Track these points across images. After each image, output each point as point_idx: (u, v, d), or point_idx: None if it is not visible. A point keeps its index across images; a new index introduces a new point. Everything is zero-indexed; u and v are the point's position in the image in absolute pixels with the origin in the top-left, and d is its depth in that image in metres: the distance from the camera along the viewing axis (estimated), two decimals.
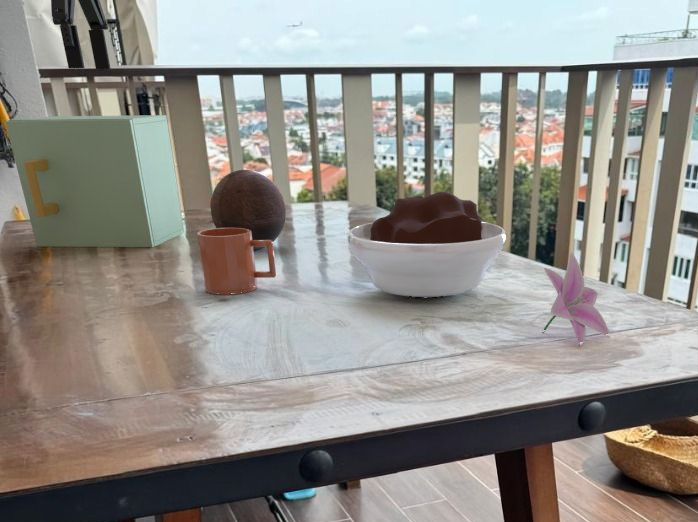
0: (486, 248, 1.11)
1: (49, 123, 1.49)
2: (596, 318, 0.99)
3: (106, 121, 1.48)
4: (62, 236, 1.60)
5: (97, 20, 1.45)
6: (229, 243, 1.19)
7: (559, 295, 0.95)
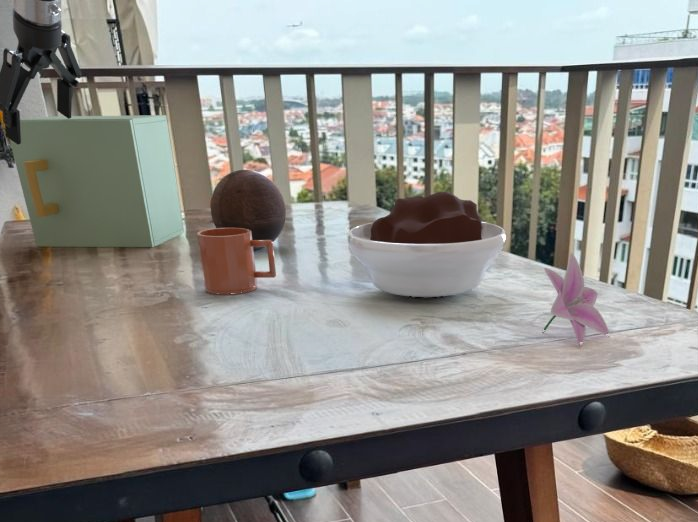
0: (486, 248, 1.11)
1: (49, 123, 1.49)
2: (596, 319, 0.99)
3: (106, 121, 1.48)
4: (62, 236, 1.60)
5: (66, 79, 1.41)
6: (229, 243, 1.19)
7: (559, 295, 0.95)
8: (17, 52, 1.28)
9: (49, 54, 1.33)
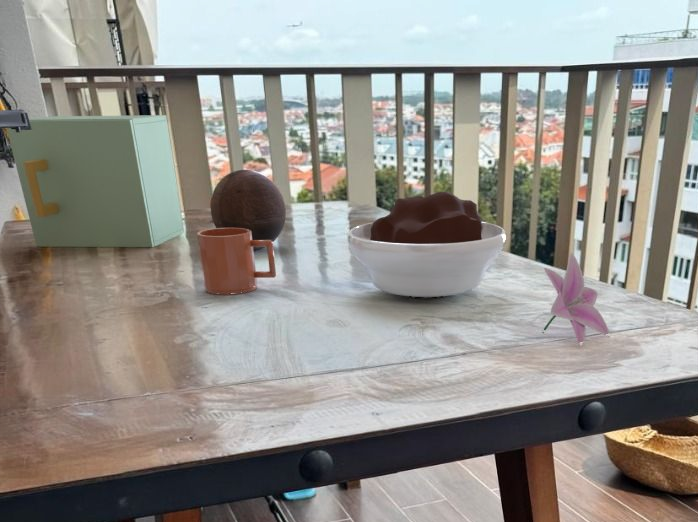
0: (486, 248, 1.11)
1: (49, 123, 1.49)
2: (596, 319, 0.99)
3: (106, 121, 1.48)
4: (62, 236, 1.60)
5: None
6: (229, 243, 1.19)
7: (559, 295, 0.95)
8: None
9: None
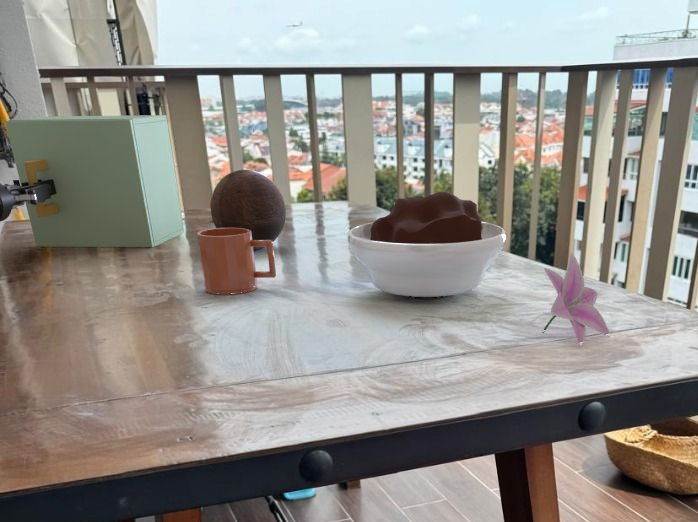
0: (486, 248, 1.11)
1: (49, 123, 1.49)
2: (596, 319, 0.99)
3: (106, 121, 1.48)
4: (62, 236, 1.60)
5: None
6: (229, 243, 1.19)
7: (559, 295, 0.95)
8: None
9: None
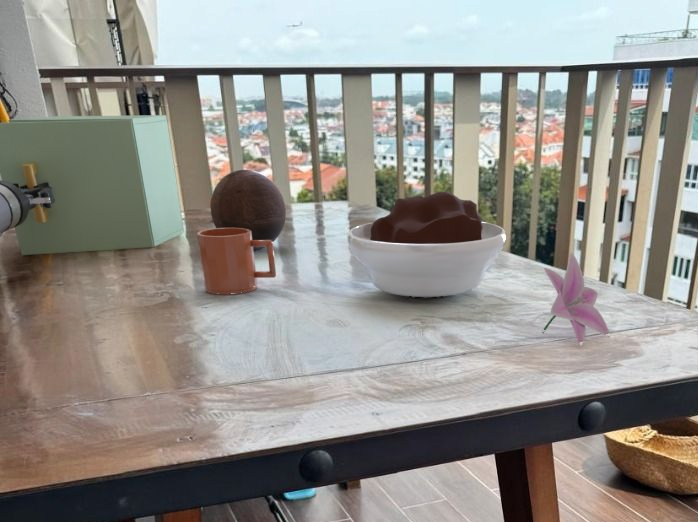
0: (486, 248, 1.11)
1: (39, 125, 1.44)
2: (596, 319, 0.99)
3: (105, 121, 1.46)
4: (52, 242, 1.54)
5: None
6: (229, 243, 1.19)
7: (559, 295, 0.95)
8: None
9: None
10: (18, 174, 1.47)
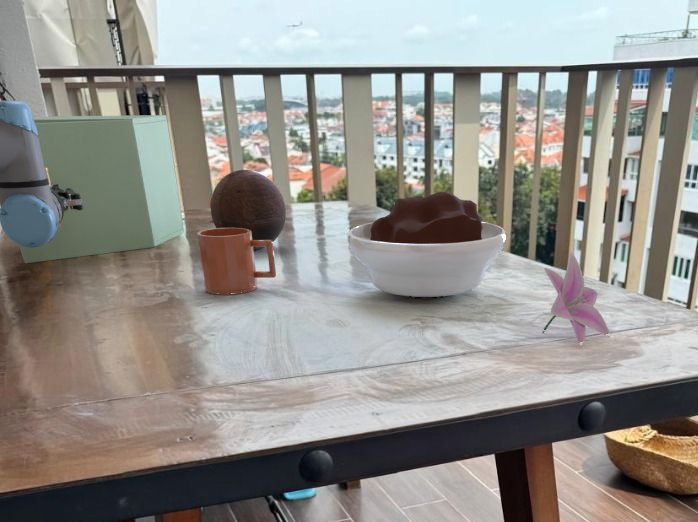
0: (486, 248, 1.11)
1: (42, 126, 1.39)
2: (596, 319, 0.99)
3: (107, 122, 1.45)
4: (56, 248, 1.49)
5: None
6: (229, 243, 1.19)
7: (559, 295, 0.95)
8: None
9: None
10: None
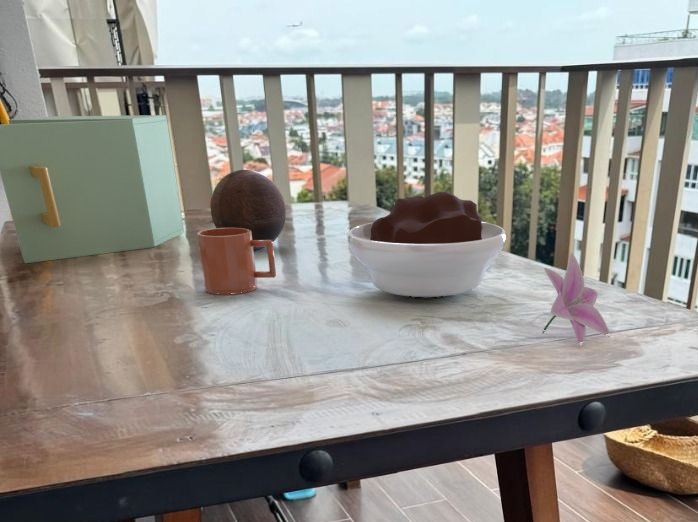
0: (486, 248, 1.11)
1: (43, 126, 1.39)
2: (596, 319, 0.99)
3: (107, 122, 1.45)
4: (56, 248, 1.49)
5: None
6: (229, 243, 1.19)
7: (559, 295, 0.95)
8: None
9: None
10: (21, 178, 1.40)
